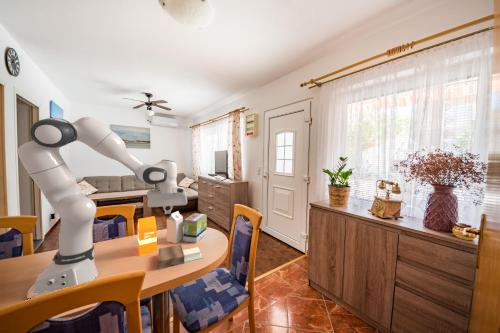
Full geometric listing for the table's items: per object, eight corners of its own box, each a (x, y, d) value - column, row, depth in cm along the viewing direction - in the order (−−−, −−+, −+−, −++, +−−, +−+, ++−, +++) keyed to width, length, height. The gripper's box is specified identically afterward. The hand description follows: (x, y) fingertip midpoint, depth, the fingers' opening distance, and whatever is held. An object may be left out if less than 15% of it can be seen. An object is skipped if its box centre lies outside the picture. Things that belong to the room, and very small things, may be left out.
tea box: (197, 243, 122) (197, 220, 121) (183, 241, 124) (182, 219, 123) (207, 233, 137) (206, 213, 136) (194, 232, 139) (194, 212, 138)
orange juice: (157, 250, 112) (156, 217, 111) (140, 255, 107) (139, 221, 105) (154, 245, 118) (153, 214, 117) (137, 250, 113) (136, 217, 111)
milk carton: (167, 241, 123) (166, 213, 122) (174, 237, 130) (173, 210, 129) (176, 243, 121) (175, 214, 120) (183, 238, 128) (182, 211, 127)
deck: (159, 269, 94) (158, 261, 94) (158, 255, 107) (158, 248, 107) (184, 263, 100) (184, 256, 100) (181, 250, 112) (181, 244, 112)
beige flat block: (183, 258, 104) (183, 255, 103) (182, 253, 109) (182, 250, 109) (200, 255, 107) (200, 251, 107) (198, 250, 113) (198, 247, 113)
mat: (184, 262, 101) (184, 261, 101) (181, 251, 111) (181, 251, 111) (202, 258, 105) (202, 257, 105) (198, 248, 116) (198, 247, 116)
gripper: (146, 190, 98) (146, 217, 98) (188, 189, 107) (187, 213, 107) (147, 188, 103) (146, 213, 104) (186, 187, 112) (185, 210, 113)
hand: (167, 213), depth 106 cm, fingers closed
